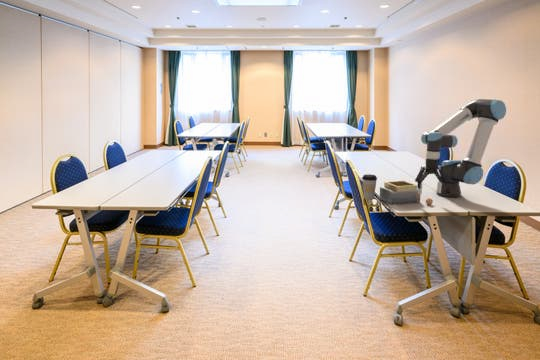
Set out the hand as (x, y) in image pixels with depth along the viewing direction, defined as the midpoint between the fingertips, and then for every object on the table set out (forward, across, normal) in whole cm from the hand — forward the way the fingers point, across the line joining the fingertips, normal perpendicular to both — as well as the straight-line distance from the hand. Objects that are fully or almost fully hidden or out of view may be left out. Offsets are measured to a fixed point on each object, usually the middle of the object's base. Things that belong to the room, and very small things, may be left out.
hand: (429, 193), depth 262 cm
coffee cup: (+8, +27, -23) cm, 37 cm away
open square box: (+7, +11, -13) cm, 19 cm away
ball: (+7, -1, 0) cm, 7 cm away
